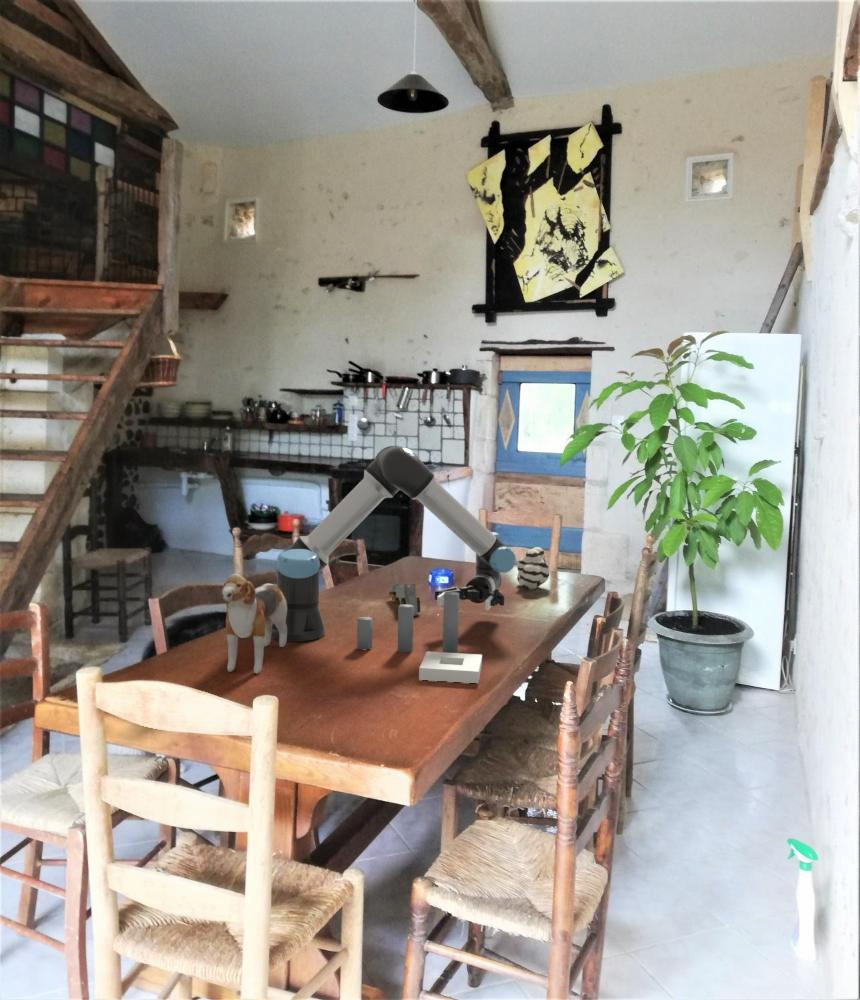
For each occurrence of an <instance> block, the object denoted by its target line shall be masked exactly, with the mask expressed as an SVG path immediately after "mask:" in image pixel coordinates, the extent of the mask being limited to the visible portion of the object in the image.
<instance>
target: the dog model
mask: <svg viewBox="0 0 860 1000" xmlns="http://www.w3.org/2000/svg"><path fill="white" fill-rule="evenodd" d="M220 594H221V597H222V598H223V601H224V603H226V604H227V613H226V616H225V617H226V618H225V628H226V629H225V630H226V641H227V654H228V655H227V658H228V662H227V672H228V673H232V672H233V671H234V670H235V668H236V663H237V656H238V643H239V642H238V641H239V638H241V639H243V638H249V637H250V636H252V639H253V640H252V641H253V647H254V648H253V651H254V652H253V653H254V666H253V672H254V673H253V674H255V673H256V674H255V675H257V674H260V673H261V671H262V669H263V662H264V661H263V660H264V647H265V646H267V647H269V646H270V644H271V642H272V637H271V634H272V627H271V624H272V623H271V621H272V622H273V623H274V624H275V626H276V628H277V629H278V631H279V640H278V641H279V642H278V645H279V648H280V647H283V648H284V647H285V646H286V644H287V642H288V641H287V626H286V615H287V603H286V599H285V596H284V594H283V592H282V591H281V590H280V589H279V588H278V587H277V585H275V584H273V583H269V582H268V583H264V584H260V586H257V587H255V585H254V584H253V583H252V582H251V581H249V580H247V579H246V578H244V576H242V575H240V574H239V573H232V574H230V575H229V576H228V577H227V578H226V579H225V582H224V584H223V586H222V589H221V593H220ZM268 645H269V646H268Z"/></svg>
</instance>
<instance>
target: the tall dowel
mask: <svg viewBox="0 0 860 1000" xmlns="http://www.w3.org/2000/svg"><path fill="white" fill-rule="evenodd" d="M459 612H460V599H459V593H457V592H445V593H444V604H443V613H442V614H443V617H442V618H443V622H442V625H443V626H442V651H441V652H446V653H459V652H458V650H459V621H460V620H459V614H460V613H459Z"/></svg>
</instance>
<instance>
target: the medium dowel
mask: <svg viewBox="0 0 860 1000" xmlns="http://www.w3.org/2000/svg"><path fill="white" fill-rule="evenodd" d="M397 611H398V612H397V613H398V614H397V619H398V620H397V621H398V622H397V652H399V653H403V652H408V653H412V652H413V651H412V650H414V649H413V648H414V647H413V645H414V644H413V643H414V616H413V613H414V606H413V605H407V604H404V605H400V604H399V605H398V610H397ZM411 651H412V652H411Z"/></svg>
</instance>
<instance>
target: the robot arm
mask: <svg viewBox="0 0 860 1000" xmlns="http://www.w3.org/2000/svg"><path fill="white" fill-rule="evenodd" d="M363 471H364V472H363V479H361V480H360V481H359V482H358V484H357V485H356V486H354V487H353V489H352V490H351V491H350V492H349V493H348V494H347V495H346V496H345V497H344V498H343V499H341V501H340V502H339V503H338V504H337V505H336V506H335V507H334V508H333V509H332V510H331V512H329V513H328V515H326V517H324V518H323V520H321V522H320V523H319V524H317V526H316V527H314V529H313V530H312V531H311V532H310V533H309V534H308V535H300V536H299V537H298V538H297V539H296V540H295V541H294V542H293V543H292V544H291V545H290V546H289V547H286V548H285V549H284V550H282V551H281V552H280V553H279V554H278V556H277V560H276V562H275V573H276V587H278V588H279V589H280V590H281V591H282V592H283V594H284V596H285V599H286V603H287V615H286V626H287V641H286V642H308V640H309V641H314V639H315V640H319V639H321V638H323V637H324V636H325V631H326V630H325V629H326V627H325V626H326V625H325V624H324V620H323V618H322V614H321V611H320V607H319V606H320V572H322V571H323V570H324V569H325V567H327V565H328V564H329V557H330V555H331V554H332V553H333V552H334V551H335V550H336V549H337V548H338V547H339V546H340V545H341V543H342V542H343V541H344V540H345V539H347V537H348V536H349V535H350V534H351V533H352V532H354V530H355V529H356V528H357V527H358V526H360V524H361V523H362V522H363V521H364V520H365V519H366V518H367V517H368V515H370V514H371V513H372V512H373V510H374V509H375V508H377V507H378V506H379V504H380V503H381V502H382V501H383V500H384V499H387V498H390V499H391V498H394V496H395V495H396V494H398V492H399V491H402V493H404V494H405V495H407V496H408V497H409V498H410V499H411V500H417V501H418V502H419V503H421V504H422V505H423V506H424V507H425V508H426V509H427V510H428V511H429V512H430V513H432V514H433V515H434V517H436V518H437V519H438V520H439V521H440V522H441V523H442V524H443V525H445V526H446V527H447V528H448V529H449V530H450V531H451V532H453V534H455V535H456V537H458V538H459V539H460V540H461V541H462V542H463V543H464V545H465V544H466V546H468V548H469V549H471V550H472V551H473V552H474V553H475V576H474V577H473V578H471V579H470V580H469V581H468V582H467V583H466V585H465V586H462V587H459V588H458V586H456V585H454V586H452V587H448V588H443V589H439V590H435V591H434V600H435V601H436V606H437V607H438V608H440V607H441V606H444V593H445V592H457V593H459V600H461V601H466V600H468V601H470V602H472V603H474V604H482V603H484V611H485V612H487V611H489V610H490V609H491V608H492V607H495V606H498V604H499V606H504V605H505V595H503V594H502V593H501V592H500V590H499V589H500V588H501V586H502V583H503V577H502V574H505V573H508V572H510V571H511V570H512V569H514V567H515V565H516V563H517V562H516V561H517V559H516V554H515V551H513V550H512V548H510V547H508V546H507V545H505V544H504V543H503V542H502V541H501V534H500V533H498V532H494V531H490V530H489V529H488V528H487V527H486V526H485V525H484V524H483V523H482V522H481V521H480V520H478V519H477V518H476V517H475V516H474V515H473V514H472V512H470V511H469V510H468V509H467V508H466V507H464V505H462V504H461V503H460V502H459V501H458V500H457V499H456V498H455V497H454V496H453V495H452V494H451V493H450V492H448V490H446V488H444V487H443V486H442V485H441V484H440V483H439V482H438V481H437V480H436V474H435V473H434V472H432V470H431V469H429V467H428V466H427V465H426V464H425V463H424V462H423V461H422V460H421V458H420V457H419V456H418V455H417V454H416V453H415V452H414V451H413V450H411V449H409V448H407V447H403V446H400V445H389V446H387V447H384V448H382V449H380V451H379V452H378V453H377V454H376V456H375V458H374V460H373V461H372V462H371V463H370V464H369V465H368V466H366V468H365V469H364V470H363ZM501 573H502V574H501ZM271 627H272V634H271V636H272V637H274V638H277V639H279V631H278V629H277V628H276V626H275V624H274V623H273V622H272V623H271ZM272 637H271V638H272ZM274 638H273V639H274ZM277 639H276V640H277Z"/></svg>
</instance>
